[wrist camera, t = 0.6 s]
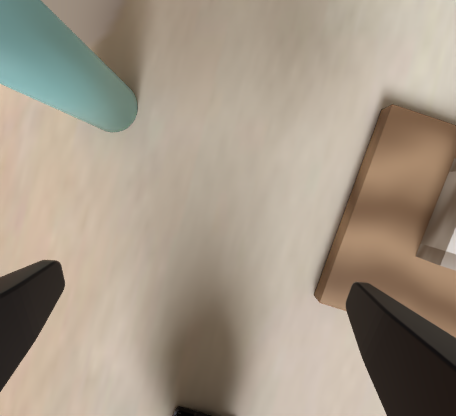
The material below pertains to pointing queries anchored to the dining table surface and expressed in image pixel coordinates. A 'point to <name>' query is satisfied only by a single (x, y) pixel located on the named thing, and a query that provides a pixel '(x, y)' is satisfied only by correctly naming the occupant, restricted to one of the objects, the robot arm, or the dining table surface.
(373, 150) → the base board
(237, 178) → the dining table surface
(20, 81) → the post
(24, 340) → the robot arm
